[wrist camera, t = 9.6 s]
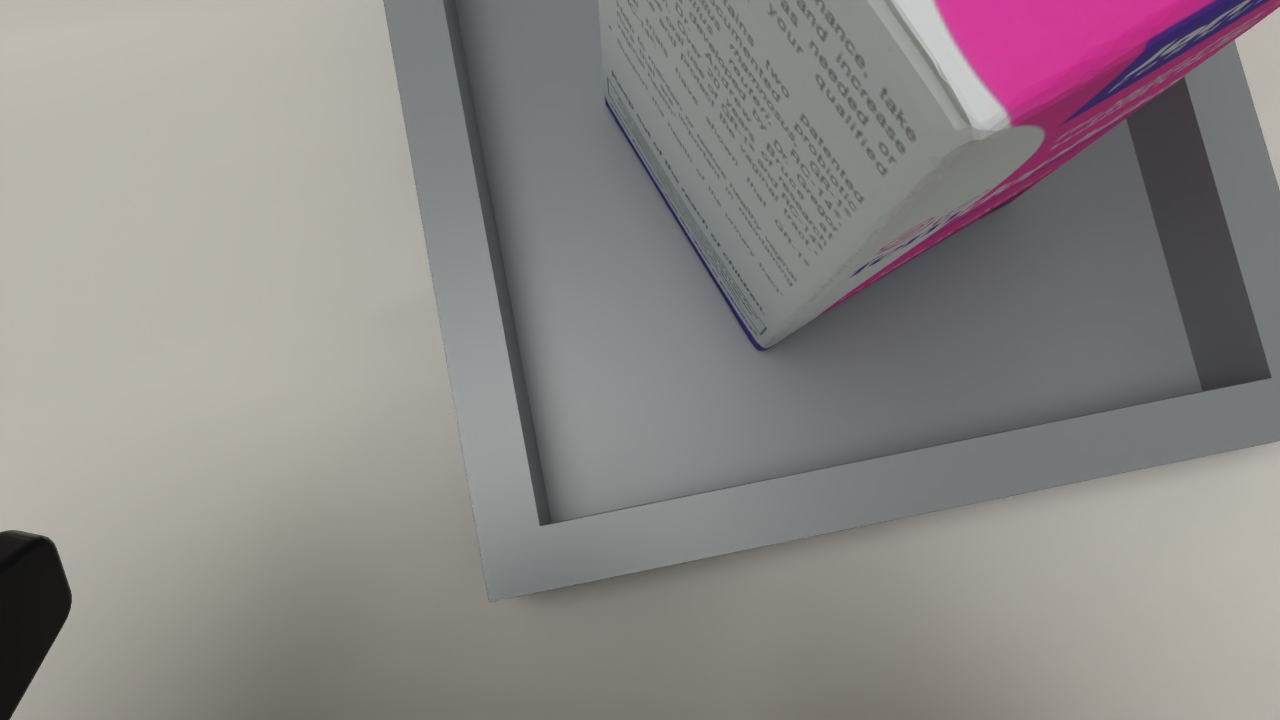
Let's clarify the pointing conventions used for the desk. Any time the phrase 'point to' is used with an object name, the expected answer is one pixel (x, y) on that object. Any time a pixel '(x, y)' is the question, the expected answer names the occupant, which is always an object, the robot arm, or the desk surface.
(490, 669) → the desk surface
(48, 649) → the robot arm
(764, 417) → the tray
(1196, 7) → the supplement box
